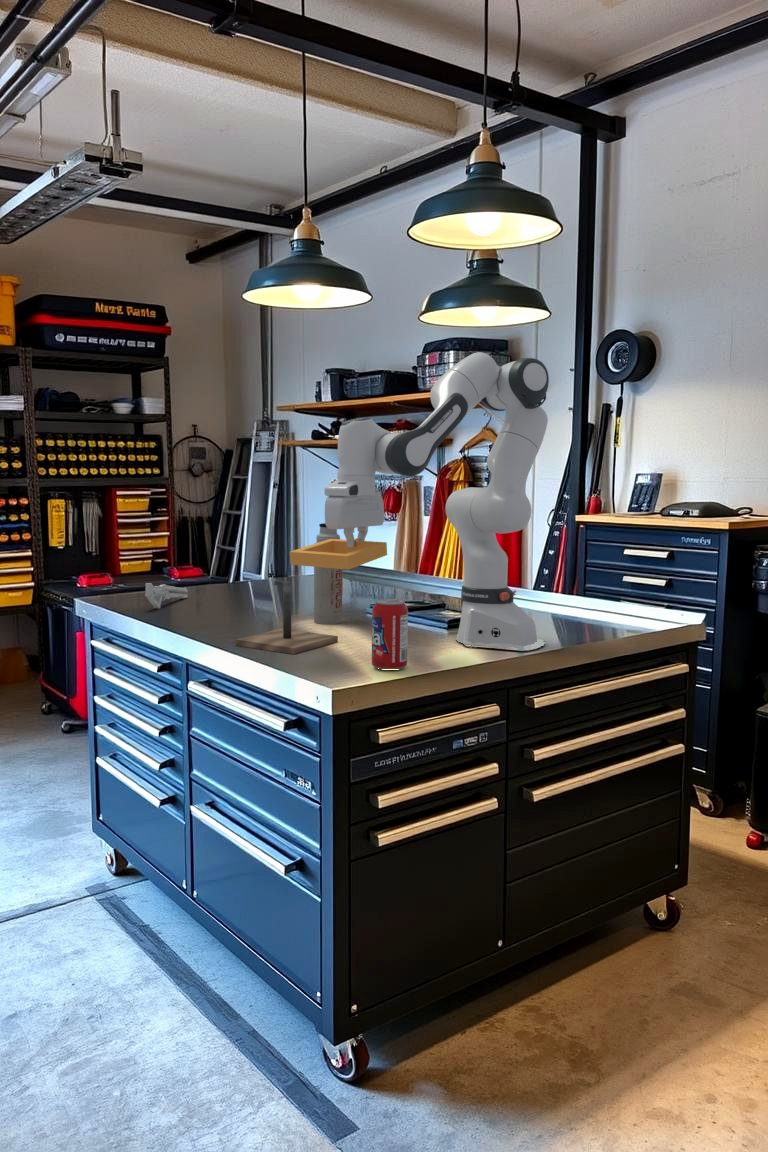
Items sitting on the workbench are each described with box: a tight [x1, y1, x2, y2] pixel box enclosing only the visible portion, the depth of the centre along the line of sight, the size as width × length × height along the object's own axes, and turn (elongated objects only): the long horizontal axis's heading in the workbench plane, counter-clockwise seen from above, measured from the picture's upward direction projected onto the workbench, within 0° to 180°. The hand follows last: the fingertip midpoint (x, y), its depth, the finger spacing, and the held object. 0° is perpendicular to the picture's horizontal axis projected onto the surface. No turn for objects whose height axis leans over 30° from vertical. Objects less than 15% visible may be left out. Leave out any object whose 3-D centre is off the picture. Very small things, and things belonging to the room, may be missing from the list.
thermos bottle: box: [313, 522, 343, 625], centre depth 250 cm, size 8×8×28 cm
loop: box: [289, 538, 388, 570], centre depth 204 cm, size 16×16×3 cm
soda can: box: [371, 598, 409, 670], centre depth 194 cm, size 8×8×15 cm
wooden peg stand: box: [235, 580, 339, 655], centre depth 220 cm, size 18×18×16 cm
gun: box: [144, 582, 188, 610], centre depth 279 cm, size 2×30×8 cm, turn 171°
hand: (355, 546), depth 209 cm, fingers closed on loop, 2 cm apart
